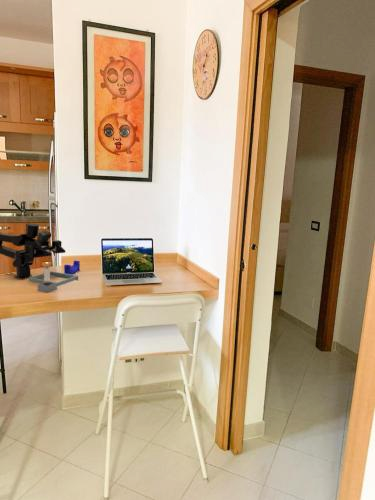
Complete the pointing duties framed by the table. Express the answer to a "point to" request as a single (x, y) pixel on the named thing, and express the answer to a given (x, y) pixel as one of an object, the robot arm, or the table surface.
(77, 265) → the cable clip
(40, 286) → the lock block
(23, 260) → the robot arm
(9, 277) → the table surface
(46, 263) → the lock pin
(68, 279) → the tray
